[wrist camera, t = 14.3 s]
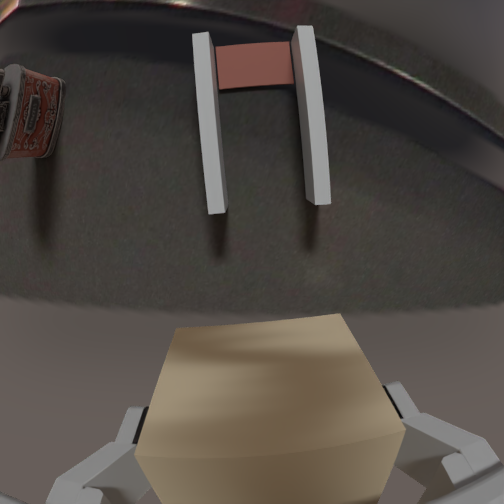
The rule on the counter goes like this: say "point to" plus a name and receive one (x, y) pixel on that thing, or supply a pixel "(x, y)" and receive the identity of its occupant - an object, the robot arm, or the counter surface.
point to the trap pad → (254, 65)
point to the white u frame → (308, 115)
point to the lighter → (29, 112)
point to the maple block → (269, 417)
